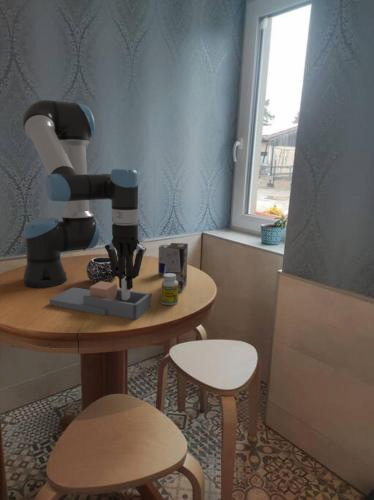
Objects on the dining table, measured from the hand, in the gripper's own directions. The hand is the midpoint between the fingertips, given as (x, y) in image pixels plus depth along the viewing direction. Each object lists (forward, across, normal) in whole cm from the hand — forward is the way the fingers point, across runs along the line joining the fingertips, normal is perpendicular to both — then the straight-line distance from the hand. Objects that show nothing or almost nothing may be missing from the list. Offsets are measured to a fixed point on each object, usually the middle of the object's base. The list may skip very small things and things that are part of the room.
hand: (126, 298), depth 109 cm
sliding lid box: (+4, -9, 0) cm, 10 cm away
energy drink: (+4, -3, +38) cm, 38 cm away
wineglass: (+4, -18, +42) cm, 46 cm away
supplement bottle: (+4, +10, +11) cm, 15 cm away
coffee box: (+4, +7, +25) cm, 26 cm away
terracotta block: (+2, -8, 0) cm, 8 cm away
